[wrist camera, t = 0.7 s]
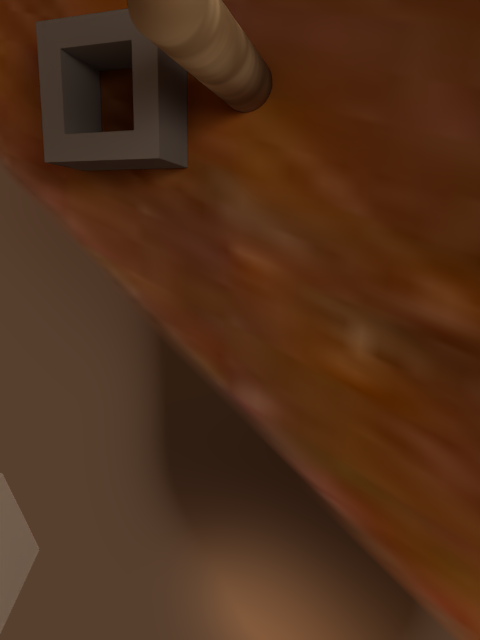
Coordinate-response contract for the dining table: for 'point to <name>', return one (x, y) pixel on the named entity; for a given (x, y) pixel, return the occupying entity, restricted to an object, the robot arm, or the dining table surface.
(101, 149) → the socket
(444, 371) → the dining table surface
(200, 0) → the dowel
